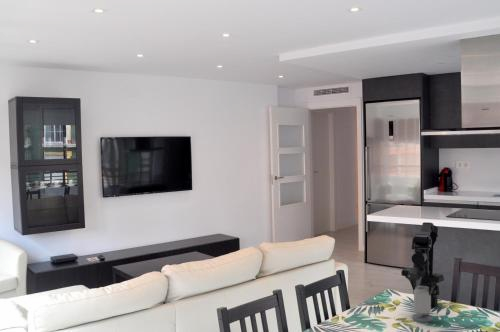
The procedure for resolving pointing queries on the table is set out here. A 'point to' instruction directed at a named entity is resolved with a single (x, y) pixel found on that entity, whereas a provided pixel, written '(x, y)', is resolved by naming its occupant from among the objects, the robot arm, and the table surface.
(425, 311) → the can
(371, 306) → the table surface
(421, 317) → the coaster
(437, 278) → the robot arm
